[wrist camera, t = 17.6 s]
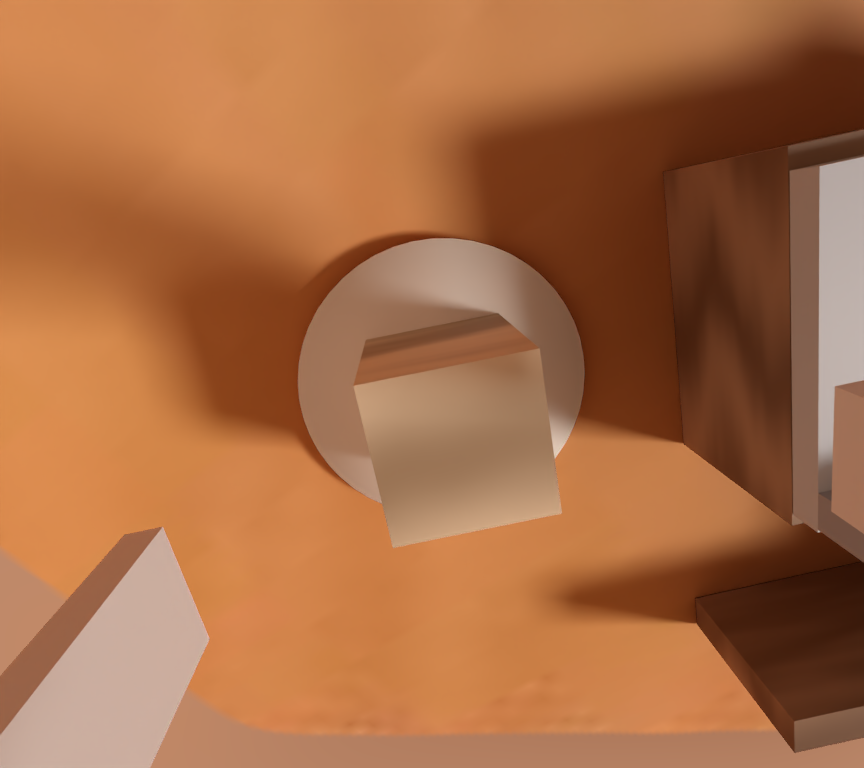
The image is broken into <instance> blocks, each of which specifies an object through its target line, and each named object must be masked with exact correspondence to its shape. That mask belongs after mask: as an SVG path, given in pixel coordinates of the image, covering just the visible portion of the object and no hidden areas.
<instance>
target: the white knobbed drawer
mask: <svg viewBox="0 0 864 768" xmlns="http://www.w3.org/2000/svg"><path fill="white" fill-rule="evenodd" d="M790 264H791V359H792V454H793V515H794V516H795V517H797V518H798V519H800V520H801V521H802V522H804V523H805V524H807V525H808V526H809V527H811V528H812V529H813V530H815V531H816V532H818V533H819V532H822V533H823V534H825V535H826V536H827V537H829V538H830V539H831V540H833V541H834V542H836V543H837V544H838V545H840V546H841V547H843V548H844V549H845V550H847V551H848V552H850V553H851V554H852V555H854V556H855V557H857V558H858V559H859V560H861V561H862V562H864V534H863V533H862V532H860V531H859V530H857V529H856V528H855V527H853V526H852V525H850V524H849V523H847V522H846V521H844V520H843V519H842V518H840V517H839V516H837V515H836V514H834V513H833V512H832V511H831V501H832V465H833V429H834V392H835V386H838V385H843V384H848V383H853V382H857V381H862V380H864V155H859V156H855V157H850V158H845V159H841V160H836V161H832V162H827V163H822V164H818V165H813V166H809V167H804V168H799V169H795V170H790Z"/></svg>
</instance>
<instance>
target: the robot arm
mask: <svg viewBox="0 0 864 768" xmlns="http://www.w3.org/2000/svg"><path fill="white" fill-rule="evenodd" d="M831 511H832V512H833V513H834V514H836V515H837V516H839V517H840V518H842V519H843V520H844V521H846V522H847V523H849V524H850V525H852V526H853V527H855V528H856V529H857V530H859V531H860V532H862V533H863V534H864V380H862V381H857V382H853V383H848V384H843V385H838V386H835V392H834V429H833V465H832V501H831ZM208 641H209V636H208V634H207V632H206V629H205V627H204V624H203V622H202V620H201V617H200V615H199V612H198V610H197V608H196V605H195V603H194V600H193V598H192V596H191V593H190V591H189V588H188V586H187V584H186V581H185V579H184V576H183V574H182V572H181V569H180V567H179V564H178V562H177V560H176V557H175V555H174V552H173V550H172V548H171V545H170V543H169V540H168V538H167V536H166V533H165V531H164V528H163V527H159V528H155V529H150V530H145V531H140V532H135V533H131V534H126V535H124V536H123V537H122V538H121V539H120V540H119V542H118V543H117V544H116V545H115V546H114V547H113V548H112V550H111V551H110V552H109V553H108V554H107V555H106V556H105V557H104V559H103V560H102V561H101V562H100V563H99V564H98V565H97V567H96V568H95V569H94V570H93V571H92V572H91V573H90V575H89V576H88V577H87V578H86V579H85V580H84V581H83V582H82V584H81V585H80V586H79V587H78V588H77V589H76V590H75V592H74V593H73V594H72V595H71V596H70V597H69V598H68V600H67V601H66V602H65V603H64V604H63V605H62V606H61V608H60V609H59V610H58V611H57V612H56V613H55V614H54V615H53V617H52V618H51V619H50V620H49V621H48V622H47V623H46V625H45V626H44V627H43V628H42V629H41V630H40V631H39V632H38V634H37V635H36V636H35V637H34V638H33V639H32V641H31V642H30V643H29V644H28V645H27V646H26V647H25V648H24V650H23V651H22V652H21V653H20V654H19V655H18V656H17V658H16V659H15V660H14V661H13V662H12V663H11V664H10V665H9V667H8V668H7V669H6V670H5V671H4V672H3V673H2V675H1V676H0V768H150V767H151V765H152V762H153V760H154V758H155V756H156V754H157V752H158V749H159V747H160V745H161V743H162V741H163V739H164V736H165V734H166V732H167V730H168V728H169V726H170V723H171V721H172V719H173V717H174V715H175V713H176V710H177V708H178V706H179V704H180V701H181V700H182V697H183V695H184V693H185V691H186V689H187V687H188V685H189V682H190V680H191V678H192V676H193V674H194V672H195V669H196V667H197V665H198V663H199V661H200V659H201V656H202V654H203V652H204V650H205V648H206V646H207V643H208Z"/></svg>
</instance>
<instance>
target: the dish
mask: <svg viewBox="0 0 864 768" xmlns="http://www.w3.org/2000/svg"><path fill="white" fill-rule="evenodd" d="M497 313H499V314H500V315H501V316H502V317H503V318H504V319H506V320H507V321H508V322H509V323H510V324H512V325H513V326H514V327H515V328H516V329H517V330H519V331H520V332H521V333H522V334H523V335H525V336H526V337H527V338H528V339H529V340H530V341H532V342H533V343H534V344H535V345H536V346H538V347H539V348H540V354H541V362H542V369H543V376H544V384H545V391H546V399H547V406H548V414H549V421H550V428H551V436H552V443H553V451H554V458H556V456H557V455H558V453H559V452H560V450H561V449H562V447H563V446H564V444H565V443H566V441H567V439H568V437H569V435H570V433H571V431H572V429H573V427H574V425H575V422H576V419H577V416H578V413H579V410H580V406H581V402H582V397H583V392H584V378H585V369H584V355H583V350H582V345H581V340H580V337H579V334H578V331H577V328H576V325H575V322H574V320H573V318H572V316H571V314H570V312H569V310H568V308H567V306H566V304H565V303H564V302H563V300H562V299H561V297H560V296H559V294H558V293H557V292H556V290H555V289H554V288H553V287H552V286H551V285H550V284H549V283H548V282H547V280H546V279H545V278H544V277H543V276H542V275H541V274H539V273H538V272H537V271H536V270H534V269H533V268H532V267H531V266H529V265H528V264H527V263H525V262H523V261H522V260H520V259H518V258H517V257H515V256H513V255H512V254H510V253H508V252H505V251H503V250H500V249H498V248H496V247H493V246H490V245H486V244H483V243H479V242H475V241H471V240H463V239H455V238H429V239H422V240H416V241H411V242H407V243H404V244H400V245H397V246H393V247H391V248H389V249H387V250H384V251H382V252H380V253H378V254H375V255H374V256H372V257H370V258H369V259H367V260H366V261H364V262H362V263H361V264H359V265H358V266H357V267H355V268H354V269H353V270H352V271H351V272H349V273H348V274H347V275H346V276H345V277H343V278H342V279H341V280H340V282H339V283H338V284H337V285H336V286H335V287H334V288H333V289H332V290H331V291H330V292H329V293H328V295H327V296H326V298H325V299H324V301H323V302H322V304H321V305H320V306H319V308H318V309H317V311H316V313H315V315H314V317H313V319H312V321H311V323H310V325H309V327H308V330H307V333H306V336H305V338H304V341H303V344H302V349H301V354H300V359H299V367H298V392H299V401H300V406H301V410H302V415H303V419H304V421H305V424H306V427H307V429H308V432H309V435H310V437H311V438H312V440H313V442H314V444H315V446H316V448H317V450H318V451H319V452H320V454H321V455H322V457H323V458H324V459H325V461H326V462H327V464H328V465H329V466H330V467H331V468H332V469H333V470H334V471H335V472H336V473H337V474H338V475H339V477H341V478H342V479H343V480H344V481H345V482H347V483H348V484H349V485H350V486H351V487H353V488H354V489H356V490H357V491H359V492H360V493H362V494H364V495H365V496H367V497H368V498H370V499H373V500H375V501H377V502H379V503H381V504H382V501H381V497H380V493H379V489H378V485H377V481H376V477H375V473H374V468H373V464H372V460H371V456H370V452H369V448H368V444H367V440H366V436H365V432H364V428H363V423H362V419H361V415H360V411H359V407H358V403H357V399H356V395H355V391H354V387H353V385H354V382H355V378H356V374H357V370H358V367H359V363H360V359H361V356H362V352H363V348H364V345H365V341H366V340H367V339H372V338H377V337H382V336H387V335H392V334H397V333H402V332H407V331H412V330H417V329H422V328H427V327H432V326H437V325H442V324H447V323H452V322H457V321H462V320H467V319H472V318H477V317H482V316H487V315H492V314H497Z"/></svg>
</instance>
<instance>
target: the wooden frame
mask: <svg viewBox="0 0 864 768" xmlns="http://www.w3.org/2000/svg"><path fill="white" fill-rule="evenodd" d="M859 155H864V128H863V129H859V130H854V131H850V132H845V133H840V134H836V135H831V136H827V137H822V138H817V139H813V140H808V141H804V142H799V143H794V144H790V145H785V146H781V147H776V148H771V149H767V150H762V151H758V152H753V153H748V154H744V155H739V156H734V157H730V158H725V159H721V160H716V161H711V162H707V163H702V164H698V165H693V166H688V167H684V168H679V169H675V170H670V171H665V172H663V176H664V189H665V202H666V215H667V229H668V242H669V255H670V269H671V282H672V295H673V309H674V322H675V335H676V348H677V362H678V375H679V388H680V402H681V415H682V428H683V442H684V445H686V446H687V447H688V448H690V449H691V450H692V451H694V452H695V453H696V454H698V455H699V456H700V457H702V458H703V459H704V460H706V461H707V462H708V463H710V464H711V465H712V466H714V467H715V468H716V469H718V470H719V471H720V472H722V473H723V474H724V475H726V476H727V477H728V478H730V479H731V480H732V481H734V482H735V483H736V484H738V485H739V486H740V487H742V488H743V489H744V490H746V491H747V492H748V493H749V494H751V495H752V496H753V497H755V498H756V499H757V500H759V501H760V502H761V503H763V504H764V505H765V506H767V507H768V508H769V509H771V510H772V511H773V512H775V513H776V514H777V515H779V516H780V517H781V518H783V519H784V520H785V521H787V522H788V523H789V524H791V525H792V526H793V525H797V524H802V523H804V522H802V521H801V520H800V519H798V518H797V517H795V516H794V515H793V454H792V359H791V264H790V170H795V169H799V168H804V167H809V166H813V165H818V164H822V163H827V162H832V161H836V160H841V159H845V158H850V157H855V156H859ZM695 601H696V614H697V625H698V626H699V627H700V629H701V630H702V631H703V633H704V634H705V635H706V637H707V638H708V639H709V641H710V642H711V643H712V644H713V646H714V647H715V648H716V650H717V651H718V652H719V654H720V655H721V656H722V658H723V659H724V660H725V662H726V663H727V664H728V666H729V667H730V668H731V670H732V671H733V672H734V673H735V675H736V676H737V677H738V679H739V680H740V681H741V683H742V684H743V685H744V687H745V688H746V689H747V691H748V692H749V693H750V695H751V696H752V697H753V699H754V700H755V701H756V703H757V704H758V705H759V706H760V708H761V709H762V710H763V712H764V713H765V714H766V716H767V717H768V718H769V720H770V721H771V722H772V724H773V725H774V726H775V728H776V729H777V730H778V732H779V733H780V734H781V735H782V737H783V738H784V739H785V741H786V742H787V743H788V745H789V746H790V747H791V749H792V750H793V751H794V752H795V753H796V752H801V751H805V750H810V749H814V748H818V747H823V746H827V745H832V744H837V743H841V742H846V741H850V740H855V739H860V738H864V562H859V563H854V564H850V565H845V566H841V567H836V568H832V569H827V570H823V571H818V572H814V573H809V574H804V575H800V576H795V577H791V578H786V579H782V580H777V581H773V582H768V583H763V584H759V585H754V586H750V587H745V588H741V589H736V590H732V591H727V592H722V593H718V594H713V595H709V596H704V597H700V598H695Z"/></svg>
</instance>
